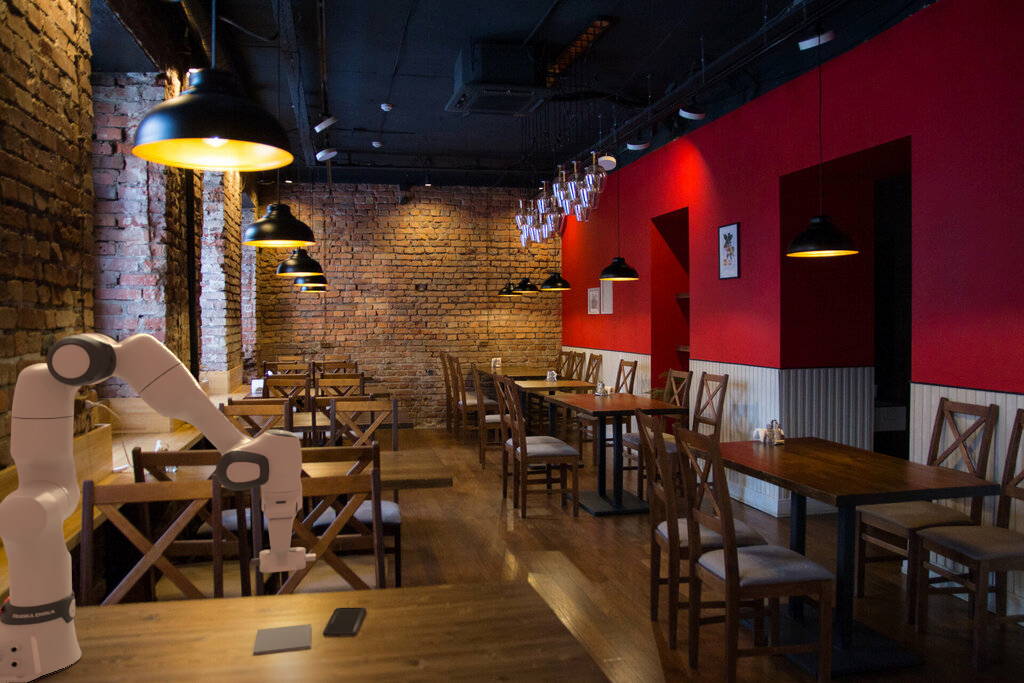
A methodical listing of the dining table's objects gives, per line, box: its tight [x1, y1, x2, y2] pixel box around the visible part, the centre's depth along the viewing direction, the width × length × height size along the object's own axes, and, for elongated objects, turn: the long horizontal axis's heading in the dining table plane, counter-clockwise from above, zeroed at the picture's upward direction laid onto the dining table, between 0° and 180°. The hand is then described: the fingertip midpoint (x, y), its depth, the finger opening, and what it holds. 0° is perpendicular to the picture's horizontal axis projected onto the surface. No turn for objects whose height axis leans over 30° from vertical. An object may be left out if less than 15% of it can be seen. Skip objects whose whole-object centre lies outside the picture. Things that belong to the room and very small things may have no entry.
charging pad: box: [252, 623, 312, 656], centre depth 163 cm, size 12×12×1 cm
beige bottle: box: [250, 546, 317, 574], centre depth 163 cm, size 14×4×4 cm, turn 105°
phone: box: [322, 607, 367, 637], centre depth 173 cm, size 8×1×15 cm
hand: (282, 561), depth 163 cm, fingers closed on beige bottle, 4 cm apart
